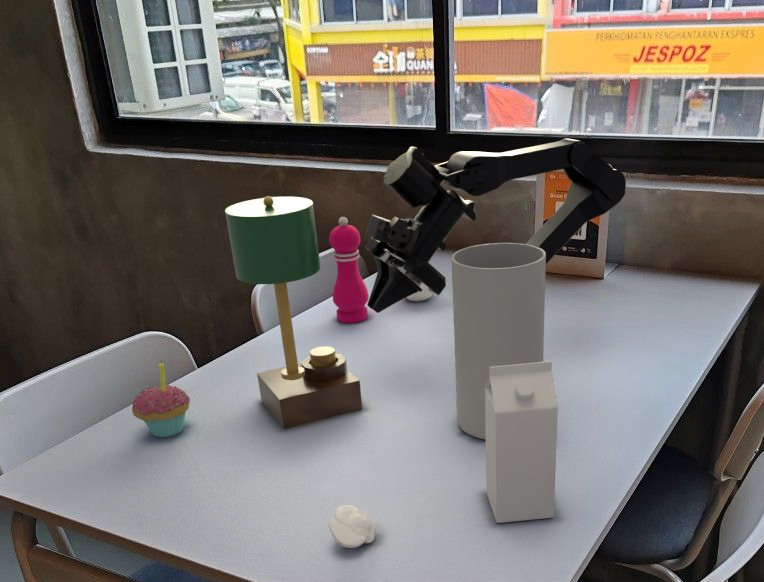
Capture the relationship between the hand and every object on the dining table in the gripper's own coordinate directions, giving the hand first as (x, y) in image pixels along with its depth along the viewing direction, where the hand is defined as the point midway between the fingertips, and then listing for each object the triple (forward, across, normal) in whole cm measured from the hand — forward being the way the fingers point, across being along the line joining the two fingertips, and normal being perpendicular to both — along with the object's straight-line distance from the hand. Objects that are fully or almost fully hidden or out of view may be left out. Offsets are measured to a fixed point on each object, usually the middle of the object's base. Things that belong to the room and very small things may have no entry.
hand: (372, 309), depth 130 cm
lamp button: (+11, 0, -1) cm, 11 cm away
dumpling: (+24, +40, -5) cm, 47 cm away
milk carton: (+9, +43, +10) cm, 45 cm away
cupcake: (+34, -4, -15) cm, 37 cm away
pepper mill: (+3, -35, +16) cm, 39 cm away
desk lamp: (+15, +3, -6) cm, 17 cm away
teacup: (-9, -39, +29) cm, 50 cm away
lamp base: (+18, 0, +1) cm, 18 cm away
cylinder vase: (+2, +22, +17) cm, 28 cm away
